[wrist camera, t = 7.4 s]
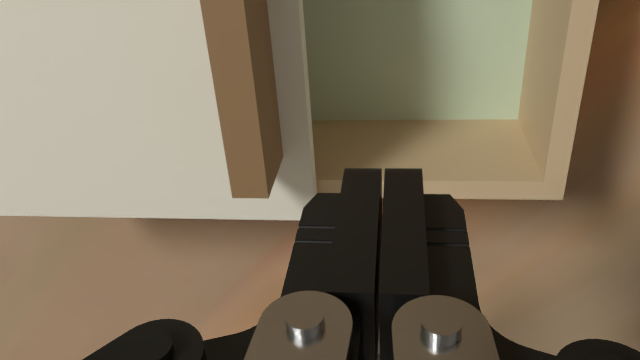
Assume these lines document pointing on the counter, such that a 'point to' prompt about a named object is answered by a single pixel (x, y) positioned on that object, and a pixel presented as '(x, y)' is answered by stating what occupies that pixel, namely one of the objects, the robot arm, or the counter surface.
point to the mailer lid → (155, 109)
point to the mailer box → (449, 91)
